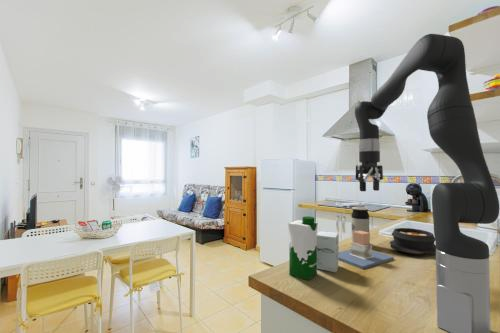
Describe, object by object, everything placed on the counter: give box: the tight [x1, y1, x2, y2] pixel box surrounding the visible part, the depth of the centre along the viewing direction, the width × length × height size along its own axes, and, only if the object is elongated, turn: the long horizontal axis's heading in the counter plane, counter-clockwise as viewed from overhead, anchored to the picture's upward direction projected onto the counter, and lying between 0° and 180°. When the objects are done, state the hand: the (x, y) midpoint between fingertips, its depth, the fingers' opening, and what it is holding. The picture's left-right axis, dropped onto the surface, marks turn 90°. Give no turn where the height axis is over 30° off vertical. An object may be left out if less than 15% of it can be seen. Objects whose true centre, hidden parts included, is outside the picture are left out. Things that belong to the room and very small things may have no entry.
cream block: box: [350, 241, 373, 259], centre depth 100 cm, size 5×6×5 cm
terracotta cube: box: [353, 231, 371, 245], centre depth 100 cm, size 4×4×4 cm
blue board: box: [338, 249, 395, 270], centre depth 99 cm, size 20×15×1 cm
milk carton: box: [287, 216, 319, 281], centre depth 84 cm, size 9×9×20 cm
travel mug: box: [350, 206, 370, 242], centre depth 118 cm, size 8×8×18 cm
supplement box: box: [317, 230, 340, 273], centre depth 90 cm, size 7×7×13 cm
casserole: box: [389, 227, 436, 255], centre depth 110 cm, size 25×19×8 cm
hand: (369, 190), depth 97 cm, fingers open, 8 cm apart
